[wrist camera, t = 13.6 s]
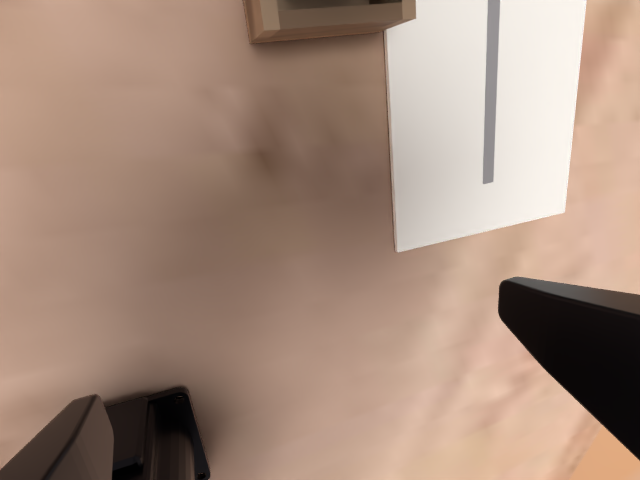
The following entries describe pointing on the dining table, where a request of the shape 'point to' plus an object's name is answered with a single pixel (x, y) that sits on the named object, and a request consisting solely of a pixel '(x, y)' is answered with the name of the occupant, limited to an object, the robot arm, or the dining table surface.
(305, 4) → the brown square frame
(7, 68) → the dining table surface
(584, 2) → the paper
